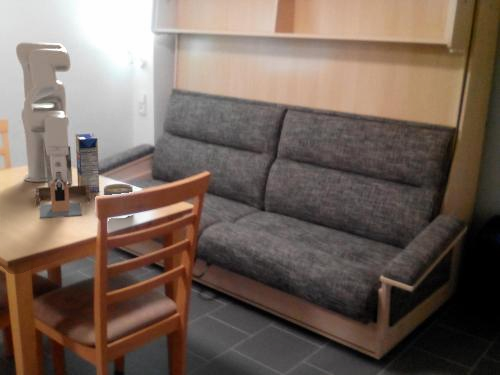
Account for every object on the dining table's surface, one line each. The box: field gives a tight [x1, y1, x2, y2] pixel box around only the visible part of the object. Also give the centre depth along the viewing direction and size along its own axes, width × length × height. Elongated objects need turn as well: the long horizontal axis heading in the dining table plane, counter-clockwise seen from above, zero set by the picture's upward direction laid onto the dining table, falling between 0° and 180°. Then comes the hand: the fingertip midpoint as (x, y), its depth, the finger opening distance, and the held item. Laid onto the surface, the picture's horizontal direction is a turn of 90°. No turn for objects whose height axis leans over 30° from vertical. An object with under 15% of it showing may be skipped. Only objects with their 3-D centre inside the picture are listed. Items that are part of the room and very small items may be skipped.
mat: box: [39, 201, 83, 219], centre depth 194 cm, size 14×14×1 cm
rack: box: [34, 185, 91, 206], centre depth 206 cm, size 10×19×4 cm, turn 109°
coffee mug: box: [103, 183, 134, 196], centre depth 191 cm, size 13×10×10 cm
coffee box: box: [45, 145, 73, 187], centre depth 223 cm, size 9×6×16 cm
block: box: [50, 180, 70, 212], centre depth 193 cm, size 6×5×10 cm
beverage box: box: [75, 133, 100, 194], centre depth 218 cm, size 7×11×22 cm, turn 25°
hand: (60, 196), depth 193 cm, fingers open, 9 cm apart
